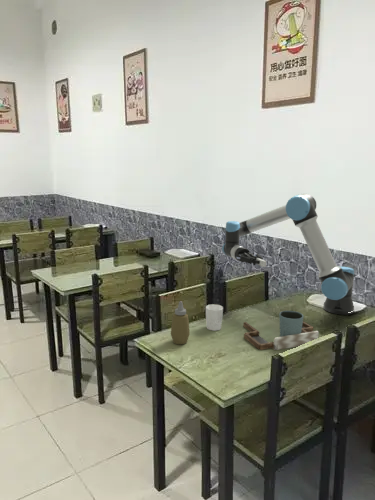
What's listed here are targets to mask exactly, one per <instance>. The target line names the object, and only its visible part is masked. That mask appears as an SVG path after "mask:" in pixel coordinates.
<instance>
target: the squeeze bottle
mask: <svg viewBox="0 0 375 500" xmlns="http://www.w3.org/2000/svg"><path fill="white" fill-rule="evenodd" d="M170 327H171V329H170V336H171V338H172V342H173V344H175V345H184V344H187V343H188V341H189V339H190V338H189V337H190V335H191V334H190V333H191V332H190V320H189V315H188V314H187V309H186V308H184V304H183V301H181V300H180V301H179V302H178V306H177V308H175V309H174V313H173V315H172V318H171V326H170Z"/></svg>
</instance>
